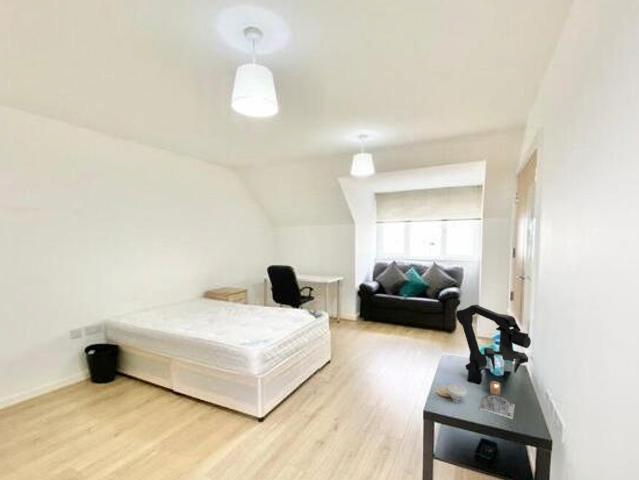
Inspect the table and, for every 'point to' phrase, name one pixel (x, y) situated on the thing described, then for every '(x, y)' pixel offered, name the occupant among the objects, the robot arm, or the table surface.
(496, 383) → the pipe stub
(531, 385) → the table surface
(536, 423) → the table surface
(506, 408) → the clear glass tray
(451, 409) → the table surface
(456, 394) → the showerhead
